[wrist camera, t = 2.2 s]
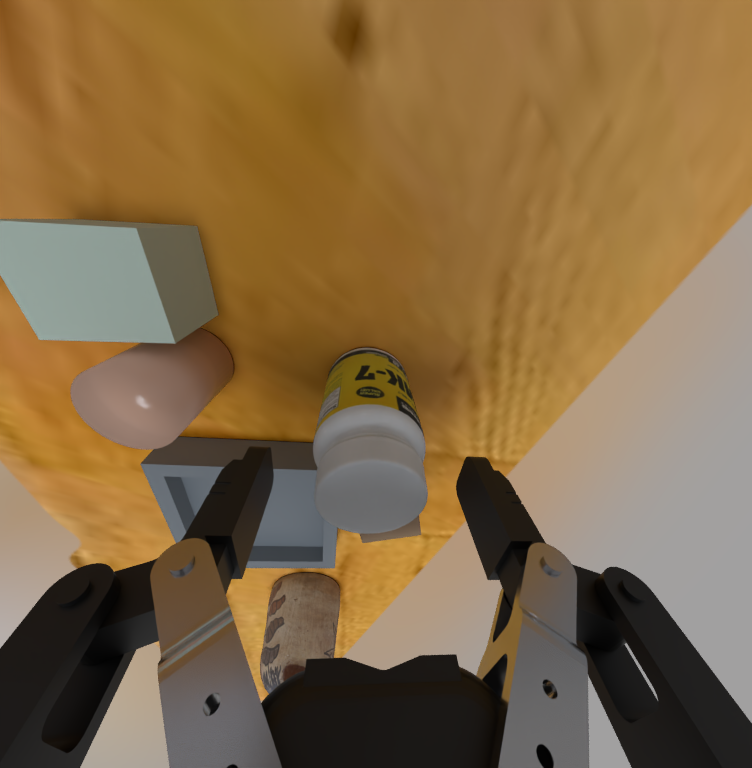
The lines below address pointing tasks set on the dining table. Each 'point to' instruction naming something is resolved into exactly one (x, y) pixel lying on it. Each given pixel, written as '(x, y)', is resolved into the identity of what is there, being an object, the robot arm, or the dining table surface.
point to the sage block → (107, 279)
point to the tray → (283, 510)
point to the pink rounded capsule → (152, 389)
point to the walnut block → (394, 532)
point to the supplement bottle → (369, 446)
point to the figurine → (298, 625)
